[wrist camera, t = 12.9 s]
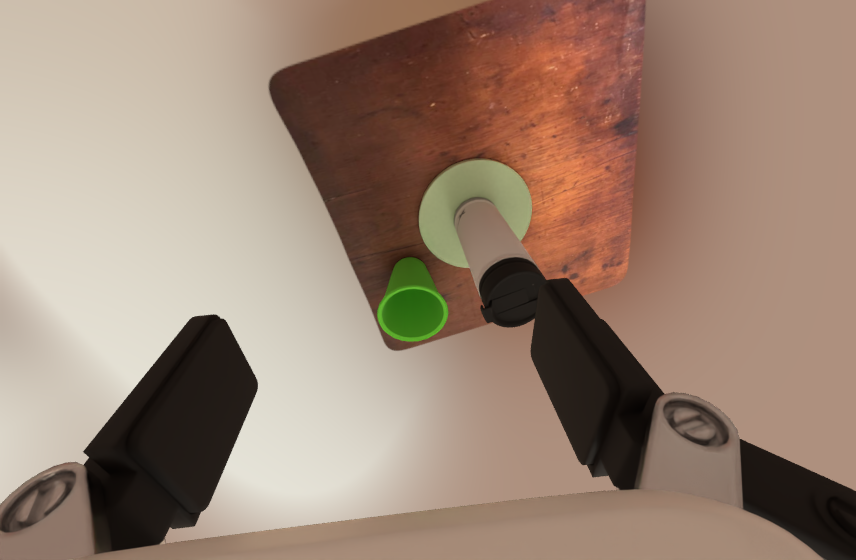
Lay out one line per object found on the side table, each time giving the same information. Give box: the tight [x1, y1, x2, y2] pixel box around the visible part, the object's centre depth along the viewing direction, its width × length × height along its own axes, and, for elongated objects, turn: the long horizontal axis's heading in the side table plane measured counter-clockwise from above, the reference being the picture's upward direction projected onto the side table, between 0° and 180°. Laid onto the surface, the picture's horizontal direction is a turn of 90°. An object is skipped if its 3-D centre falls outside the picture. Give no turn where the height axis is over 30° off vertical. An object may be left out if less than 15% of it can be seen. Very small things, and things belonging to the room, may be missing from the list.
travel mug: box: [454, 197, 547, 327], centre depth 38 cm, size 6×7×20 cm
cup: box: [377, 257, 448, 341], centre depth 47 cm, size 9×9×11 cm
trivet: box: [418, 158, 532, 268], centre depth 47 cm, size 16×16×1 cm
